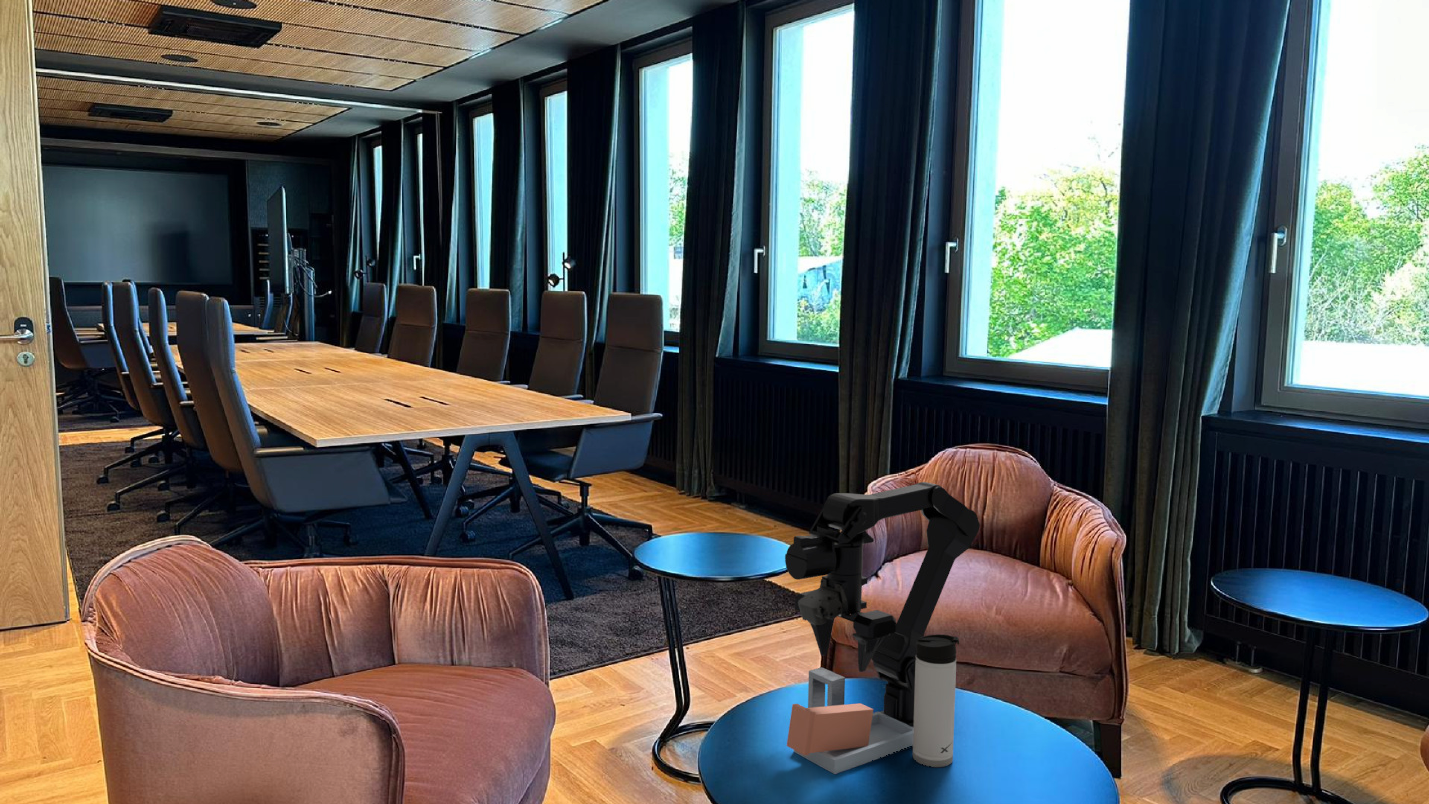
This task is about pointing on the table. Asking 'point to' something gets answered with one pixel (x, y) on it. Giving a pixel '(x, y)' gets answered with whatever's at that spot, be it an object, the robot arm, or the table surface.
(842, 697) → the bracket
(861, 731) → the pink curved block
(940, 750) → the travel mug
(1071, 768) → the table surface
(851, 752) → the tray
